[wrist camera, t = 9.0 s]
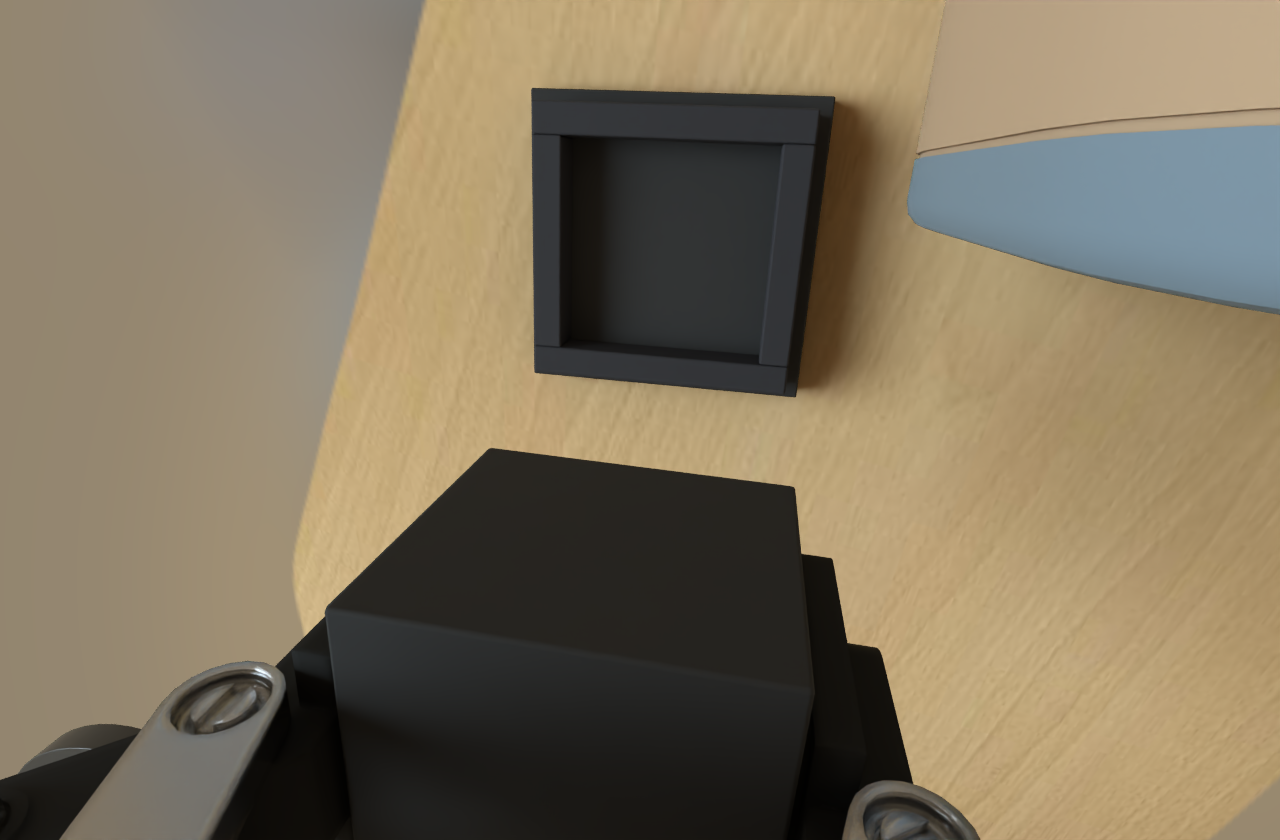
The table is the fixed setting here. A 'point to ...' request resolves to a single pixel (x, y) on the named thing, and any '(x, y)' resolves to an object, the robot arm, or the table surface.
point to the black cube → (578, 659)
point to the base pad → (676, 235)
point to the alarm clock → (1111, 141)
